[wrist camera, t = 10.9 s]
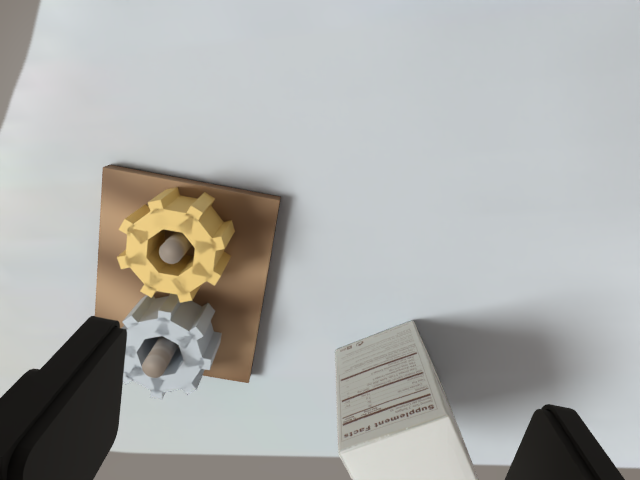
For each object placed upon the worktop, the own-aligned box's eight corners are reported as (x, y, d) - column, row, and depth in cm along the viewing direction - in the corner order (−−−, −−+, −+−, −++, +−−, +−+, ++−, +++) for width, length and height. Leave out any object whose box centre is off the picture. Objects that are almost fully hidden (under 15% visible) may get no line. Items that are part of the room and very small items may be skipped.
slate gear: (119, 298, 39) (96, 322, 35) (206, 281, 39) (193, 303, 35) (147, 375, 41) (129, 405, 38) (230, 360, 41) (220, 389, 37)
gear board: (109, 164, 37) (65, 182, 31) (280, 196, 38) (272, 221, 31) (99, 349, 42) (58, 397, 36) (250, 374, 43) (237, 427, 36)
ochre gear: (142, 180, 36) (121, 192, 32) (239, 198, 37) (229, 212, 33) (135, 270, 39) (114, 291, 35) (226, 286, 39) (216, 309, 35)
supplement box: (443, 386, 43) (490, 506, 31) (364, 414, 44) (379, 541, 32) (414, 316, 41) (452, 415, 29) (331, 346, 42) (334, 455, 30)
